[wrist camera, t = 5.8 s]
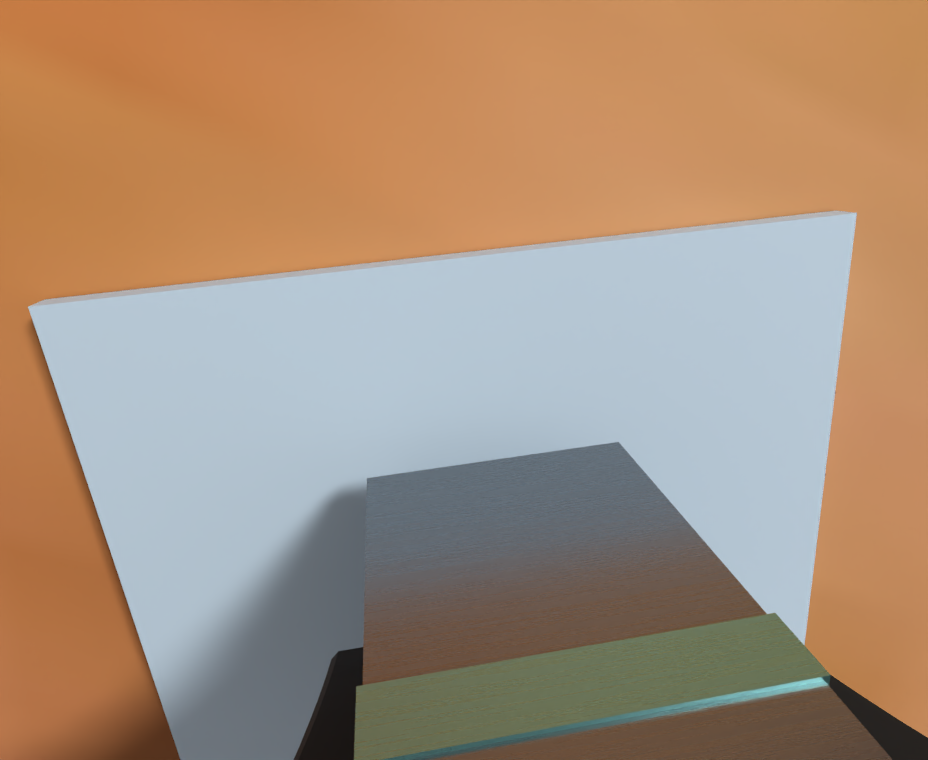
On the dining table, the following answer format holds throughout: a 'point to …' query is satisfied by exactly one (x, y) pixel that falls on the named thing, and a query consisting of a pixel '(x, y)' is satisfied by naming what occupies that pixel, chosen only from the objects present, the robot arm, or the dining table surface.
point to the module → (572, 626)
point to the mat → (432, 429)
